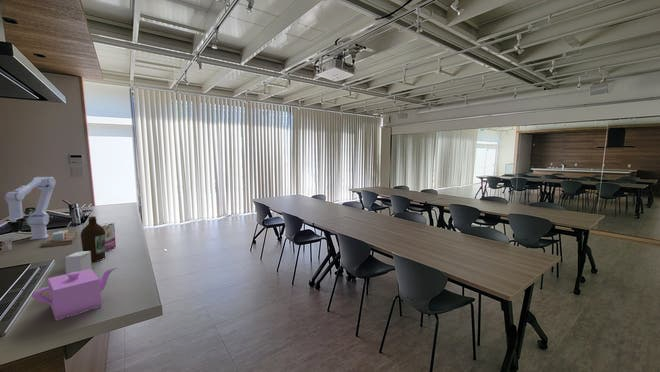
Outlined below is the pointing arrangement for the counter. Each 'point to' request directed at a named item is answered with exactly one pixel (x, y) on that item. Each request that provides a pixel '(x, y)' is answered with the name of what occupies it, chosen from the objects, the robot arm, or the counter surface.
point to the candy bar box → (109, 235)
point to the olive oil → (94, 239)
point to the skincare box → (78, 262)
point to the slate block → (58, 236)
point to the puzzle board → (68, 240)
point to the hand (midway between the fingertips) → (17, 230)
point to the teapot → (73, 292)
